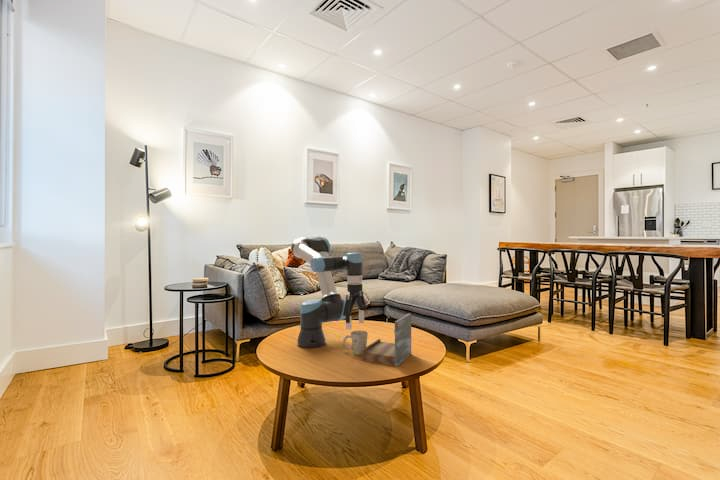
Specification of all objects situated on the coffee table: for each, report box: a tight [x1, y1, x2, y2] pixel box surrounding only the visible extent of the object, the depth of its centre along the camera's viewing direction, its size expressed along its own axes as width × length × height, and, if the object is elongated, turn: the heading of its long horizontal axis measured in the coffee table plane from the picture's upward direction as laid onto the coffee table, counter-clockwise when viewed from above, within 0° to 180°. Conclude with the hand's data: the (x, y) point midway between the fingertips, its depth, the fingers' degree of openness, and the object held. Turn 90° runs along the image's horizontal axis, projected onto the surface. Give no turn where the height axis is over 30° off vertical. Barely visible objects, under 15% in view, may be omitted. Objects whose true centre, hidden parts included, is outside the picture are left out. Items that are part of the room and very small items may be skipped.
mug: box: [342, 330, 369, 356], centre depth 178 cm, size 8×13×10 cm, turn 78°
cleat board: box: [362, 313, 412, 367], centre depth 171 cm, size 18×18×20 cm
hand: (355, 326), depth 177 cm, fingers open, 13 cm apart
